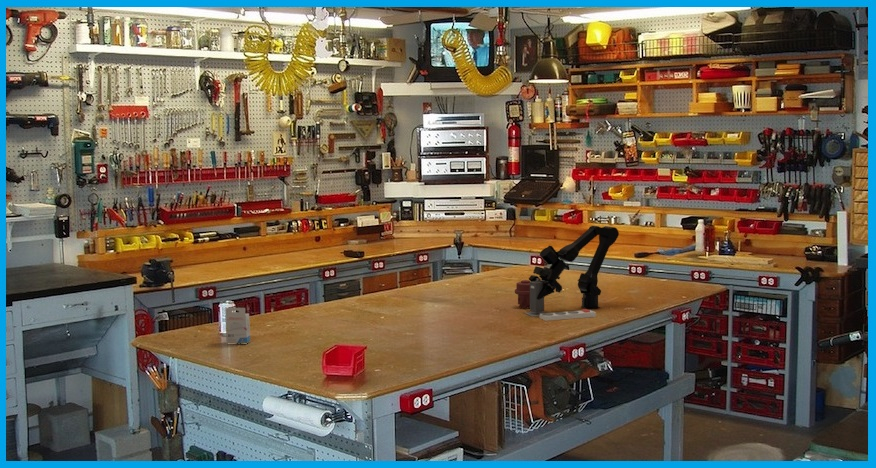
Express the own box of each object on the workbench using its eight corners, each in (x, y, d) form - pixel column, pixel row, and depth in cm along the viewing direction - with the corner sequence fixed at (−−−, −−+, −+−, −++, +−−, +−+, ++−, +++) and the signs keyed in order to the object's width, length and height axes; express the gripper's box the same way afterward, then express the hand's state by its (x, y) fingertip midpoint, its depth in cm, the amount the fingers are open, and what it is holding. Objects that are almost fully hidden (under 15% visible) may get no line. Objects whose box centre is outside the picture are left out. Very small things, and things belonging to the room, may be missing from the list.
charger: (538, 309, 459) (538, 280, 457) (544, 311, 455) (543, 282, 454) (529, 310, 457) (529, 281, 455) (535, 312, 453) (535, 283, 451)
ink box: (250, 342, 409) (249, 305, 407) (247, 344, 404) (245, 307, 402) (230, 341, 410) (228, 305, 408) (226, 344, 405) (224, 307, 403)
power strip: (589, 314, 455) (589, 308, 455) (595, 316, 449) (596, 310, 449) (539, 318, 448) (539, 311, 448) (545, 320, 442) (545, 314, 442)
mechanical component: (537, 305, 478) (535, 309, 468) (516, 305, 480) (513, 309, 470) (537, 279, 476) (535, 282, 466) (516, 278, 478) (513, 282, 468)
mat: (541, 312, 461) (541, 311, 461) (548, 315, 453) (548, 314, 453) (525, 313, 459) (525, 312, 459) (531, 316, 451) (531, 316, 451)
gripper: (532, 257, 463) (511, 284, 459) (556, 262, 447) (535, 289, 443) (546, 273, 468) (526, 299, 464) (571, 278, 452) (550, 305, 448)
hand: (534, 298), depth 455 cm, fingers closed on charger, 4 cm apart
